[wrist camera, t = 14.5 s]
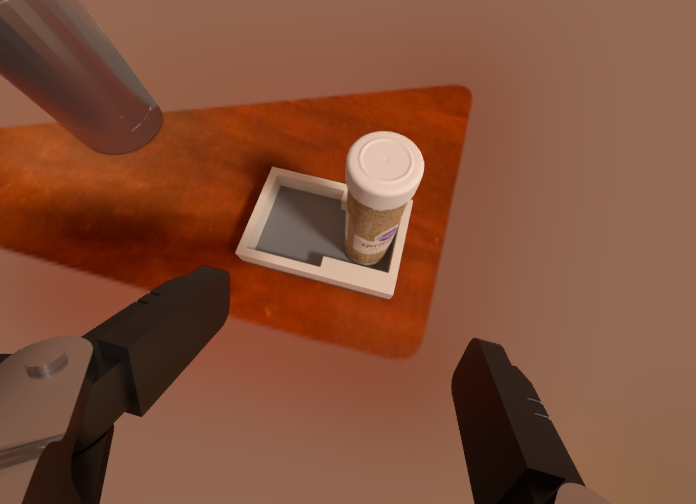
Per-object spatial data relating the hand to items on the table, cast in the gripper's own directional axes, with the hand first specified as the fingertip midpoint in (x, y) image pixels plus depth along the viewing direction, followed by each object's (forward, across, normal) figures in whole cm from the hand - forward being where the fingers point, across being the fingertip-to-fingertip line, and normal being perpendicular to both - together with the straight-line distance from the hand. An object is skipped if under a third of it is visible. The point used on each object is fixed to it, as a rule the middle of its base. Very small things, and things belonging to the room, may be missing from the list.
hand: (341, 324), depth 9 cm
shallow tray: (+19, +4, +5) cm, 21 cm away
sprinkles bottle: (+19, 0, +5) cm, 20 cm away
